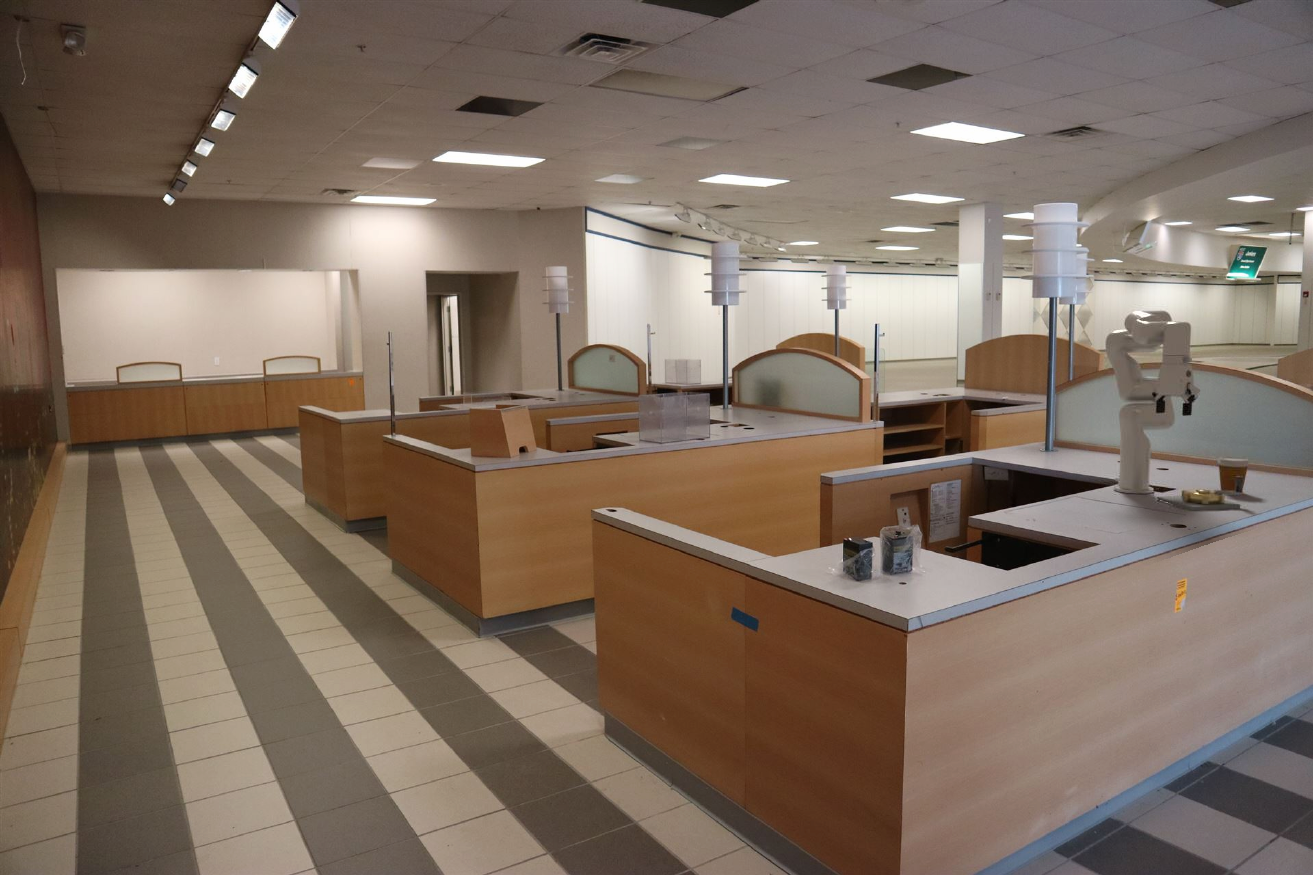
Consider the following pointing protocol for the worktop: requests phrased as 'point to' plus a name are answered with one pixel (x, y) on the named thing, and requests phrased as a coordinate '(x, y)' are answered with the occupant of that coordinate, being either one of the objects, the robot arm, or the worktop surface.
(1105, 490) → the worktop surface
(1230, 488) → the disposable coffee cup
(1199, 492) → the gold domed lever dial
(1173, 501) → the base plate
